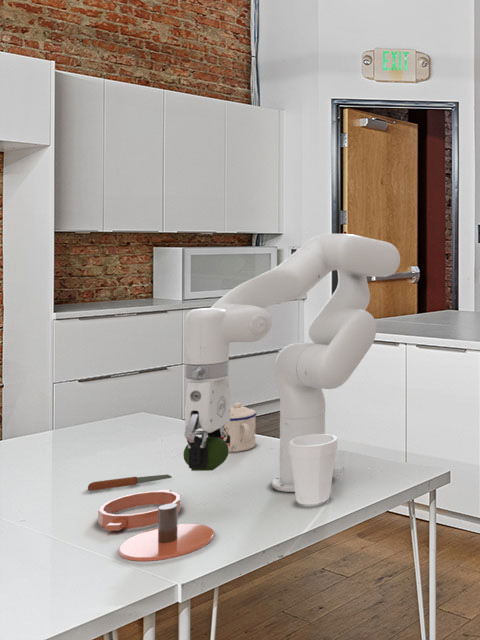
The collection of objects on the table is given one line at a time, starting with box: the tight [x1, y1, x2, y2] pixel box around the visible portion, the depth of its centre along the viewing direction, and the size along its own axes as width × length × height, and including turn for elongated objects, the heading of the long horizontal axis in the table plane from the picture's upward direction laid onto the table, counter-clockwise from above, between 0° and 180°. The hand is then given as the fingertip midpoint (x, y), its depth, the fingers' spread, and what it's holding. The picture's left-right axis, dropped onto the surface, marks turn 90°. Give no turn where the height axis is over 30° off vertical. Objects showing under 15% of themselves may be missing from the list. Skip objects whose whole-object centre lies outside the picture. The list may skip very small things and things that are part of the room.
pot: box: [97, 489, 182, 532], centre depth 145 cm, size 14×19×3 cm
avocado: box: [183, 436, 230, 472], centre depth 144 cm, size 8×6×6 cm
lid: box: [118, 504, 215, 562], centre depth 132 cm, size 15×15×7 cm
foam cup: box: [289, 433, 338, 506], centre depth 154 cm, size 10×9×13 cm
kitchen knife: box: [87, 474, 173, 491], centre depth 163 cm, size 16×1×2 cm, turn 119°
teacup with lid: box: [223, 402, 257, 453], centre depth 192 cm, size 12×9×12 cm
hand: (206, 461), depth 144 cm, fingers closed on avocado, 6 cm apart
